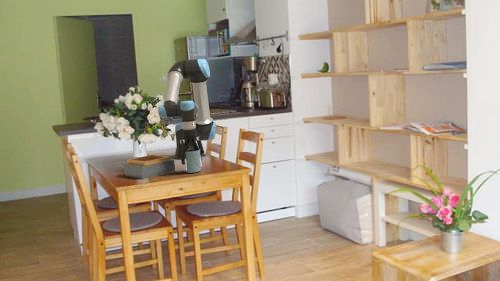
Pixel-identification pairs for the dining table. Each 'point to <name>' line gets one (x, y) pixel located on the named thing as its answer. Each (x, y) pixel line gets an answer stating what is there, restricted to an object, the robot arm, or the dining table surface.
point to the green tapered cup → (193, 160)
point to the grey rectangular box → (149, 166)
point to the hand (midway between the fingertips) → (192, 168)
